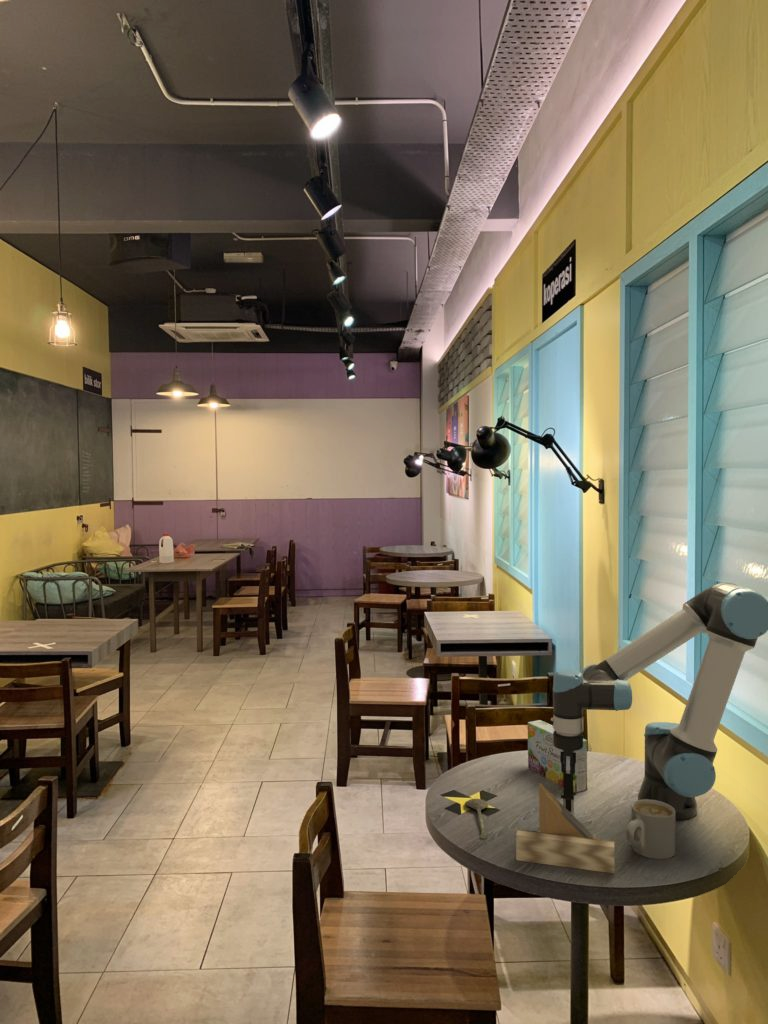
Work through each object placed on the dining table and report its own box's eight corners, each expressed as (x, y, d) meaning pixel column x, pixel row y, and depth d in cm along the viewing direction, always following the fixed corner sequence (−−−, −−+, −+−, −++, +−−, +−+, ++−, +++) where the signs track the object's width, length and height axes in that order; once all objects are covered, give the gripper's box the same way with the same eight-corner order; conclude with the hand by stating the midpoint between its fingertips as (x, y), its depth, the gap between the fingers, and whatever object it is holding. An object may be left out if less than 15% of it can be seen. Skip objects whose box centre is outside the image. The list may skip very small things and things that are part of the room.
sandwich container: (611, 859, 170) (611, 796, 169) (546, 859, 170) (546, 796, 170) (600, 841, 178) (600, 781, 178) (538, 841, 178) (539, 781, 178)
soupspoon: (487, 805, 202) (464, 806, 202) (487, 793, 202) (463, 794, 202) (496, 840, 180) (469, 841, 180) (495, 826, 180) (469, 827, 180)
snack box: (526, 769, 225) (526, 721, 224) (540, 766, 227) (540, 718, 227) (574, 794, 206) (574, 742, 206) (588, 790, 209) (589, 739, 208)
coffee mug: (656, 836, 181) (657, 797, 180) (684, 855, 171) (684, 814, 171) (611, 844, 177) (611, 804, 176) (636, 864, 167) (636, 821, 167)
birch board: (614, 866, 166) (614, 841, 166) (615, 873, 163) (615, 847, 163) (516, 853, 172) (516, 829, 172) (515, 859, 169) (515, 834, 169)
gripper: (553, 722, 193) (554, 809, 193) (552, 738, 180) (552, 831, 181) (582, 724, 191) (583, 812, 192) (583, 741, 178) (583, 835, 179)
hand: (568, 821), depth 186 cm, fingers closed
